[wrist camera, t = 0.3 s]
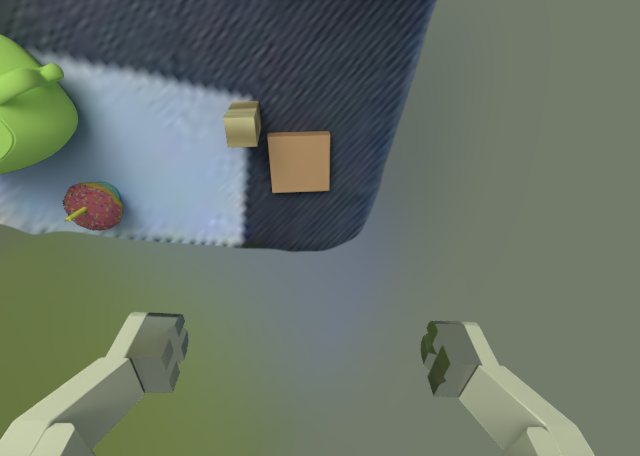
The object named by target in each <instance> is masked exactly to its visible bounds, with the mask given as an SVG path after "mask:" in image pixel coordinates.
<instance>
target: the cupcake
mask: <svg viewBox="0 0 640 456" xmlns="http://www.w3.org/2000/svg"><path fill="white" fill-rule="evenodd" d="M63 204H64V205H63V206H64V209H65V210H66V212H67V214H68V217H67V218H66V220H64V222H66V221H68V222H70V221H71V220H73V221H74V222H75V223H76V224H77V225H80V226H82V227H85V228H88V229H90V230H91V229H92V230H100V231H101V230H106V229H110V228H112V227H113V226H115V225H117V224H118V223H119V222H120V221H121V218H122V213H123V204H122V203H121V202H120V194H119V192H118V190H117V189H116V188H115V187H114V186H112V185H110V184H108V183H105V182H97V183H94V182H89V183H79V184H76V185H73V186H71V187H70V188H69V189H68V192H67V194H66V196H65V197H64V200H63Z"/></svg>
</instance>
